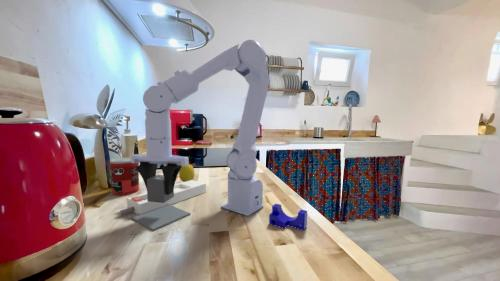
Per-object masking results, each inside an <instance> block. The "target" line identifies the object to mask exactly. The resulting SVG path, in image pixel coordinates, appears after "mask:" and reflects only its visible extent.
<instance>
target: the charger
mask: <svg viewBox="0 0 500 281" xmlns="http://www.w3.org/2000/svg"><path fill="white" fill-rule="evenodd" d="M146 191H147V192H146V193H147V199H148V201H149V202H159V203H165V202H166V201H168V200H169V199H171V198H173V197H174V189H173V192H172V193H171V194H169V195H166V192H165V180H164V175H163V174H156V176H154V177H151V178H149V179H147V188H146Z"/></svg>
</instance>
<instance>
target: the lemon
mask: <svg viewBox="0 0 500 281" xmlns="http://www.w3.org/2000/svg"><path fill="white" fill-rule="evenodd" d="M178 176H179V180H180V181H181V182H182V183H183V182H186V181H190V180H194V178H195V169H194V166H193V165H192V164H190V163H189V165H187V166H182V168H181V169H180V171H179V173H178Z"/></svg>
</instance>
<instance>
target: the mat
mask: <svg viewBox="0 0 500 281" xmlns="http://www.w3.org/2000/svg"><path fill="white" fill-rule="evenodd" d="M190 215H191V213H190V212H188V211H186V210H183V209H181V208H178V207H177V206H174V205H173V204H172V205H169V204H168V205H165V206H162V207H159V208H157V209H154V210H151V211H148V212H145V213H143V214H135V215H132V216H130V218H131V220H134V221H136V222H138V223H139V224H141V225H143V226H144V227H146V228H147V229H149V230H151V231H153V232H154V231H157V230H159V229H161V228H163V227H165V226H167V225H170V224H173V223H174V222H177V221H179V220H182V219H184V218H186V217H188V216H190Z"/></svg>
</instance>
